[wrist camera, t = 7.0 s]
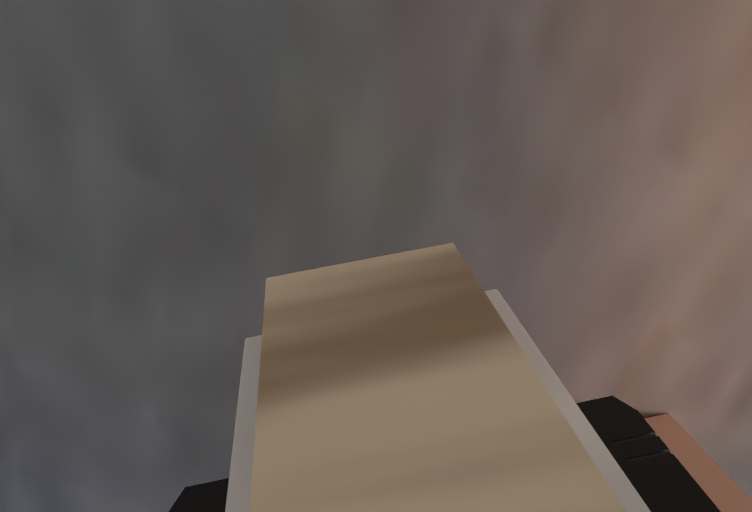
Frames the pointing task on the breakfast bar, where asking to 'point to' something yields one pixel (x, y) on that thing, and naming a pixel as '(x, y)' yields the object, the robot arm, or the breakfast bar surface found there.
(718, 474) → the tile
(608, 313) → the breakfast bar surface
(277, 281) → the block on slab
